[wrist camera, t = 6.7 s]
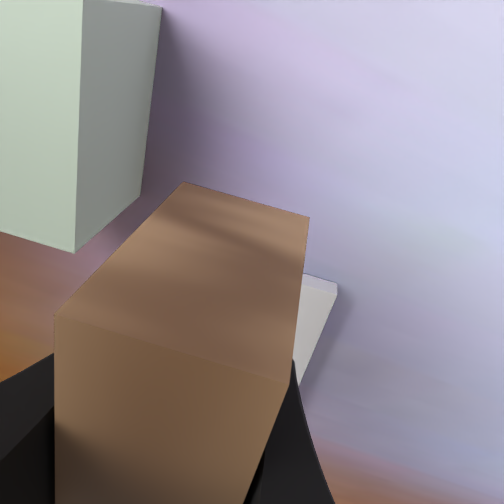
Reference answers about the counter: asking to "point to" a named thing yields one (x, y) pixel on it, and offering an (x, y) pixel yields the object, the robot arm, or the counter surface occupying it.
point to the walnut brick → (178, 354)
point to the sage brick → (73, 114)
